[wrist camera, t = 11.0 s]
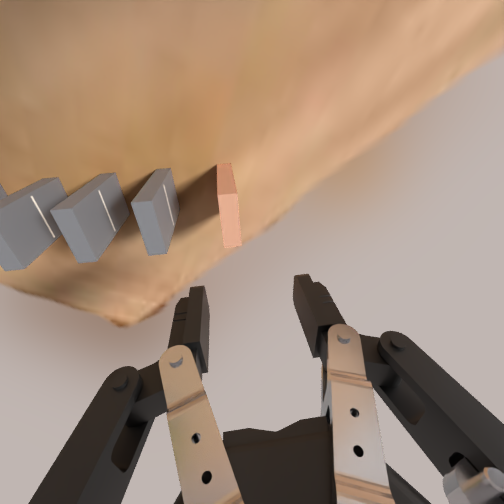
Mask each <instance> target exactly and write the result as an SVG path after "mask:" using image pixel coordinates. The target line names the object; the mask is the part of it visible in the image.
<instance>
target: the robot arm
mask: <svg viewBox="0 0 504 504" xmlns="http://www.w3.org/2000/svg"><path fill="white" fill-rule="evenodd" d="M293 301H294V306H295V309H296V312H297V314H298V317H299V320H300V323H301V325H302V328H303V331H304V334H305V336H306V339H307V342H308V345H309V347H310V350H311V353H312V356H313V358H316V357H320V359H321V361H322V368H321V378H322V379H321V389H322V390H321V417H315V418H309V419H303V420H299V421H297V422H295V423H293V424H291V425H289V426H287V427H285V428H283V429H281V430H279V431H277V432H273V431H265V430H258V429H252V428H246V429H240V430H234V431H228V432H223V441H222V438H221V436H220V433H219V430H218V427H217V424H216V421H215V418H214V415H213V412H212V409H211V407H210V404H209V401H208V398H207V395H206V392H205V390H204V387H203V384H202V373H207V372H208V354H209V320H210V314H209V305H208V300H207V295H206V291H205V287H204V286H196V287H190V292H189V297H185V298H181V299H180V300H179V302H178V303H177V305H176V308H175V313H174V318H173V323H172V329H171V334H170V340H169V345H168V349H167V350H166V351H165V352H164V353H163V354H162V356H161V357H160V360H158V361H157V362H156V363H154V364H152V365H150V366H148V367H145V368H143V369H140V370H138V371H137V370H136V368H134V367H131V366H125V367H122V368H119V369H117V370H115V371H114V372H112V373H111V374H110V375H109V376H108V377H107V378H106V380H105V381H104V383H103V384H102V386H101V388H100V389H99V391H98V392H97V394H96V396H95V397H94V399H93V400H92V402H91V404H90V405H89V407H88V408H87V410H86V412H85V413H84V415H83V417H82V418H81V420H80V421H79V423H78V425H77V426H76V428H75V430H74V431H73V433H72V434H71V436H70V438H69V439H68V441H67V442H66V444H65V446H64V447H63V449H62V450H61V452H60V454H59V455H58V457H57V459H56V460H55V462H54V463H53V465H52V466H51V468H50V470H49V472H48V473H47V475H46V477H45V478H44V479H43V481H42V483H41V484H40V486H39V487H38V489H37V491H36V492H35V494H34V496H33V497H32V499H31V500H30V502H29V504H121V502H122V499H123V497H124V494H125V492H126V489H127V487H128V484H129V482H130V479H131V477H132V474H133V472H134V469H135V467H136V464H137V462H138V459H139V457H140V454H141V452H142V449H143V447H144V444H145V442H146V439H147V436H148V434H149V431H150V429H151V426H152V424H153V422H154V419H155V417H157V416H159V415H161V414H162V413H165V412H167V420H168V425H169V430H170V435H171V440H172V445H173V451H174V456H175V461H176V466H177V471H178V476H179V481H180V486H181V492H180V494H179V496H178V497H177V499H176V501H175V503H174V504H431V503H430V502H429V501H428V500H427V499H426V498H424V497H423V496H422V495H421V494H420V493H419V492H418V491H417V490H416V489H414V488H413V487H412V486H411V485H410V484H409V483H408V482H407V481H406V480H404V479H403V478H402V477H401V476H400V475H399V474H398V473H396V471H394V470H393V469H392V468H391V467H390V466H389V465H388V464H387V463H385V459H384V452H383V446H382V440H381V435H380V428H379V423H378V416H377V410H376V404H375V399H374V392H373V388H374V390H375V391H376V392H377V393H378V395H379V396H380V397H381V398H382V399H383V401H384V402H385V403H386V405H387V406H388V407H389V408H390V410H391V411H392V412H393V414H394V415H395V416H396V417H397V419H398V420H399V421H400V422H401V424H402V425H403V426H404V427H405V429H406V430H407V431H408V433H409V434H410V435H411V436H412V438H413V439H414V440H415V441H416V443H417V444H418V445H419V446H420V448H421V449H422V450H423V451H424V453H425V454H426V455H427V457H428V458H429V459H430V460H431V462H432V463H433V464H434V466H435V467H436V468H437V469H438V471H439V472H440V473H441V474H442V476H443V477H444V478H443V487H444V492H445V494H446V497H447V498H448V500H449V504H504V424H503V423H502V422H501V421H499V420H498V419H497V418H496V417H495V416H494V415H493V414H492V413H491V412H490V411H489V410H487V409H486V408H485V407H484V406H483V405H482V404H481V403H480V402H478V401H477V400H476V399H475V398H474V397H473V396H472V395H471V394H470V393H469V392H468V391H467V390H465V389H464V388H463V387H462V386H461V385H460V384H459V383H458V382H457V381H456V380H454V379H453V378H452V377H451V376H450V375H449V374H448V373H447V372H445V370H444V369H442V368H441V367H440V366H439V365H438V364H437V363H436V362H435V361H434V360H433V359H431V358H430V357H429V356H428V355H427V354H426V353H425V352H424V351H423V350H422V349H420V348H419V347H418V346H417V345H416V344H415V343H414V342H413V341H412V340H410V339H409V338H408V337H407V336H405V335H403V334H402V333H399V332H395V331H387V332H384V333H383V334H382V335H381V337H380V338H378V337H371V336H365V335H361V334H358V333H357V331H356V330H355V329H353V328H352V327H350V326H348V325H347V324H346V323H345V321H344V319H343V317H342V316H341V314H340V312H339V310H338V308H337V307H336V305H335V303H334V302H333V299H332V298H331V296H330V294H329V292H328V290H327V289H326V287H325V286H323V285H322V284H321V283H319V282H314V283H313V281H312V280H311V278H310V276H309V274H302V275H295V276H294V289H293Z"/></svg>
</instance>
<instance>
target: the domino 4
mask: <svg viewBox="0 0 504 504" xmlns="http://www.w3.org/2000/svg"><path fill="white" fill-rule="evenodd" d="M217 196H218V203H219V211H220V219H221V227H222V234H223V242H224V248H226V247H235V246H242V244H241V232H240V220H239V208H238V196H237V190H236V185H235V180H234V176H233V171H232V166H231V163H229V164H217Z"/></svg>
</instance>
